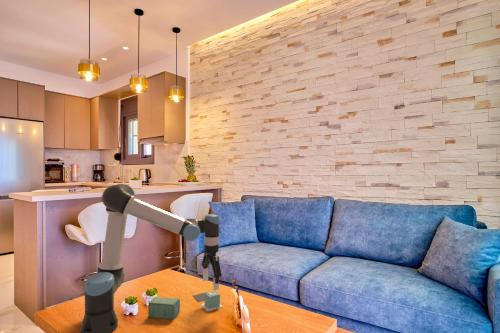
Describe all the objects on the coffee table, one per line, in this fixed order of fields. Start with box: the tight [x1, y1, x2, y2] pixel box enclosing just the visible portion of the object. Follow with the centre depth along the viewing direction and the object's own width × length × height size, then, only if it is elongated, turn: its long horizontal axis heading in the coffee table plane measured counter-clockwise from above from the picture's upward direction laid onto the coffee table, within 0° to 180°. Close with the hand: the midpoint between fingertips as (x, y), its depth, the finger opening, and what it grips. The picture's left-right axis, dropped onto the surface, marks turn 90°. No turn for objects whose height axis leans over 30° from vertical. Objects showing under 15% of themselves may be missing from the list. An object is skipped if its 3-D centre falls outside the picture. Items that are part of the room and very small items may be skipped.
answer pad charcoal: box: [192, 291, 207, 303], centre depth 163 cm, size 9×9×1 cm
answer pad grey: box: [199, 302, 224, 312], centre depth 153 cm, size 9×9×1 cm
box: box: [147, 296, 181, 320], centre depth 144 cm, size 7×14×8 cm, turn 81°
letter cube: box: [204, 290, 221, 309], centre depth 153 cm, size 6×6×6 cm
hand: (210, 284), depth 153 cm, fingers open, 13 cm apart
